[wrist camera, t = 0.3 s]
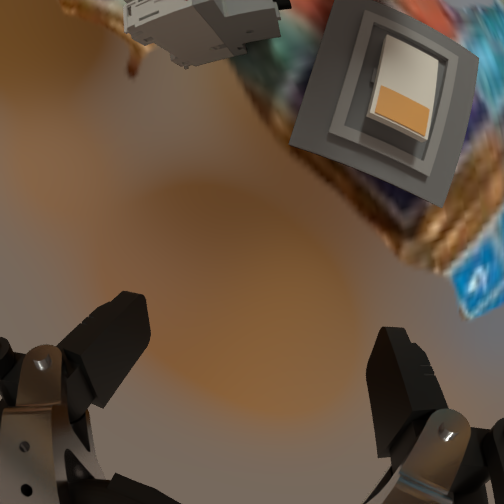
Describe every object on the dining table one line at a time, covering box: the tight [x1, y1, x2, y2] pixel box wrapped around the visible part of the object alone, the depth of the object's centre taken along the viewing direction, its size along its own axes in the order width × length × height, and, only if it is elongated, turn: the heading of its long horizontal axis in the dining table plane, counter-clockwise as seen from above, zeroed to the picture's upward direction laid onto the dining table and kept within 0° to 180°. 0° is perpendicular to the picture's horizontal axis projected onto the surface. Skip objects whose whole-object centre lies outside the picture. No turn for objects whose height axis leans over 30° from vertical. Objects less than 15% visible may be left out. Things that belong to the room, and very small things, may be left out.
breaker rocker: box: [366, 35, 438, 142], centre depth 21 cm, size 10×6×1 cm, turn 163°
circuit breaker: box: [123, 0, 291, 69], centre depth 21 cm, size 8×14×15 cm, turn 100°
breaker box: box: [289, 0, 479, 208], centre depth 25 cm, size 20×18×7 cm
